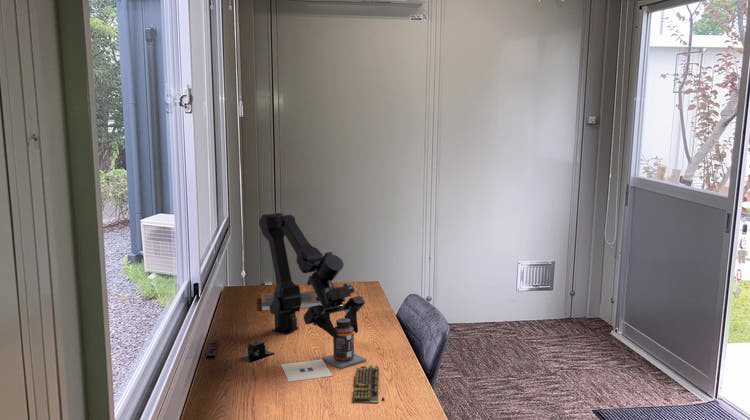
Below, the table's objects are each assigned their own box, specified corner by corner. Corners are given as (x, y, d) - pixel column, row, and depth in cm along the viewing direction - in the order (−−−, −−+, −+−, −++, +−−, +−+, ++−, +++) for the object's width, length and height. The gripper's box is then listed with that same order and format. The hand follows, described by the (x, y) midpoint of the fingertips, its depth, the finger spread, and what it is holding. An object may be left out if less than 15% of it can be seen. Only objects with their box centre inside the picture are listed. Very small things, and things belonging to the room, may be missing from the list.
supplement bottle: (355, 360, 174) (355, 322, 172) (334, 362, 173) (334, 323, 171) (352, 353, 180) (352, 316, 178) (332, 355, 179) (331, 317, 177)
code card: (281, 365, 173) (281, 364, 173) (322, 359, 177) (322, 359, 177) (288, 381, 162) (288, 381, 162) (332, 376, 165) (332, 375, 165)
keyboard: (354, 370, 171) (354, 363, 171) (386, 370, 171) (386, 363, 171) (349, 405, 150) (349, 397, 149) (386, 405, 149) (386, 398, 149)
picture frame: (262, 312, 223) (320, 308, 227) (261, 305, 223) (320, 302, 227) (261, 299, 239) (316, 296, 243) (261, 293, 239) (316, 290, 243)
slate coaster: (322, 359, 177) (322, 357, 177) (347, 352, 183) (347, 350, 182) (340, 369, 170) (340, 367, 170) (366, 361, 176) (366, 359, 176)
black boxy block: (266, 349, 187) (265, 334, 186) (281, 355, 182) (281, 340, 181) (232, 360, 177) (231, 345, 177) (247, 367, 173) (246, 352, 172)
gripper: (308, 279, 170) (331, 328, 163) (361, 269, 182) (384, 314, 175) (294, 300, 177) (315, 347, 170) (345, 289, 189) (367, 333, 182)
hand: (346, 335), depth 174 cm, fingers open, 7 cm apart
